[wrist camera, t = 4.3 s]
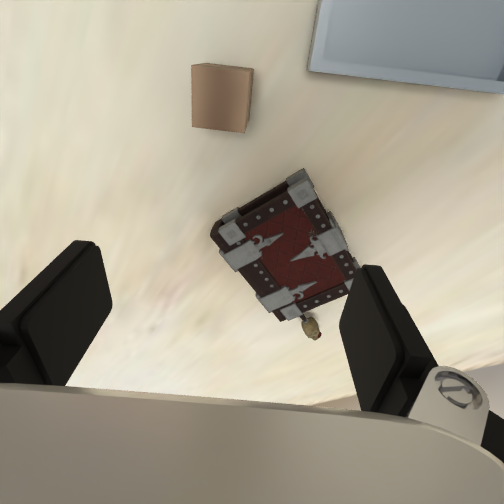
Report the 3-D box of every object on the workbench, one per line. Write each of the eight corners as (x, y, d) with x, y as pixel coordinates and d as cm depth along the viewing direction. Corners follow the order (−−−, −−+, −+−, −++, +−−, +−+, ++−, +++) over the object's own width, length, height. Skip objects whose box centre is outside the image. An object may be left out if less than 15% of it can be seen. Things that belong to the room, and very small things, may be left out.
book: (305, 165, 37) (309, 180, 33) (379, 297, 48) (389, 320, 44) (211, 221, 42) (205, 240, 38) (298, 329, 53) (300, 353, 49)
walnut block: (253, 68, 32) (249, 72, 26) (249, 119, 35) (244, 133, 29) (206, 63, 32) (191, 65, 26) (205, 114, 35) (191, 126, 29)
